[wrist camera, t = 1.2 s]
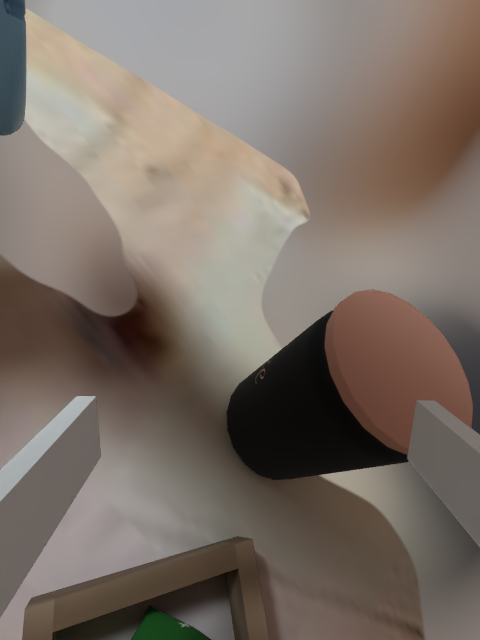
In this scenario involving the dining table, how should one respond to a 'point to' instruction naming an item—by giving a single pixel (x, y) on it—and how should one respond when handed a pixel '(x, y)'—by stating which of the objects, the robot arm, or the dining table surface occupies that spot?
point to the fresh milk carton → (165, 628)
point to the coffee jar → (346, 391)
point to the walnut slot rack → (157, 590)
